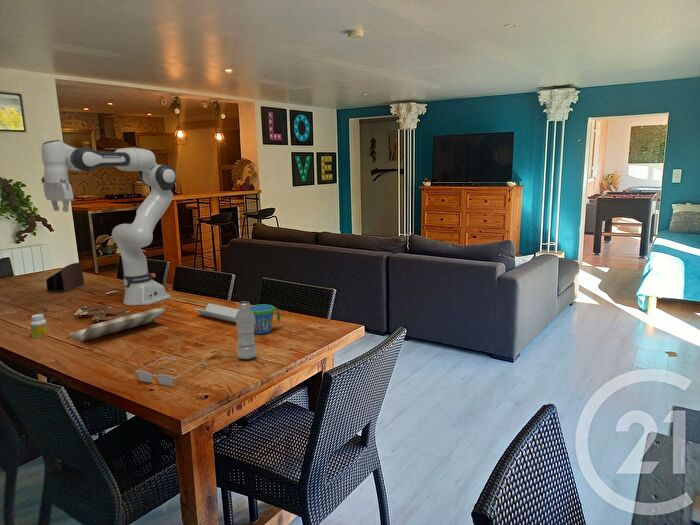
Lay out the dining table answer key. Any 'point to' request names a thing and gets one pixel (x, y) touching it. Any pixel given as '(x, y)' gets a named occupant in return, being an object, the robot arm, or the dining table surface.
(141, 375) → the eyeglasses
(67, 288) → the letter holder
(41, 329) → the supplement bottle
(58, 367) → the dining table surface
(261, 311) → the snack cup
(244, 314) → the plastic bottle
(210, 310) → the z bracket
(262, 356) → the dining table surface
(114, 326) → the loose plank
